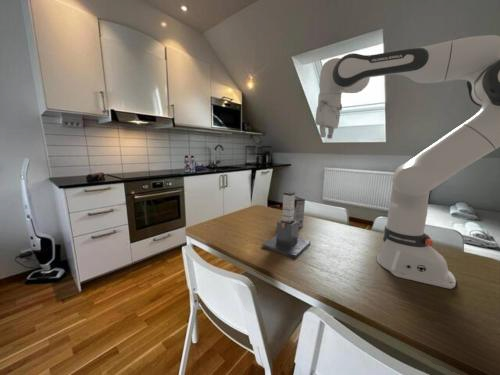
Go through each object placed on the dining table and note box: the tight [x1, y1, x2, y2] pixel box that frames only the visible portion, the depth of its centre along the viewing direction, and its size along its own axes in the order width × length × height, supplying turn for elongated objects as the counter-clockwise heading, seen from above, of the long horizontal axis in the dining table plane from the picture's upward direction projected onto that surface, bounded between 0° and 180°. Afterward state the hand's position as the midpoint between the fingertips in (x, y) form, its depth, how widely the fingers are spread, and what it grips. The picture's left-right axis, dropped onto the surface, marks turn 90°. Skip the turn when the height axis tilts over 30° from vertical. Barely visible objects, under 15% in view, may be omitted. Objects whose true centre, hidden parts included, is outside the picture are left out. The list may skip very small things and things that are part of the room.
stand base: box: [261, 219, 311, 260], centre depth 92 cm, size 16×16×12 cm
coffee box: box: [293, 195, 306, 228], centre depth 118 cm, size 9×6×16 cm
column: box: [281, 191, 296, 224], centre depth 90 cm, size 4×4×23 cm
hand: (326, 138), depth 87 cm, fingers open, 8 cm apart
